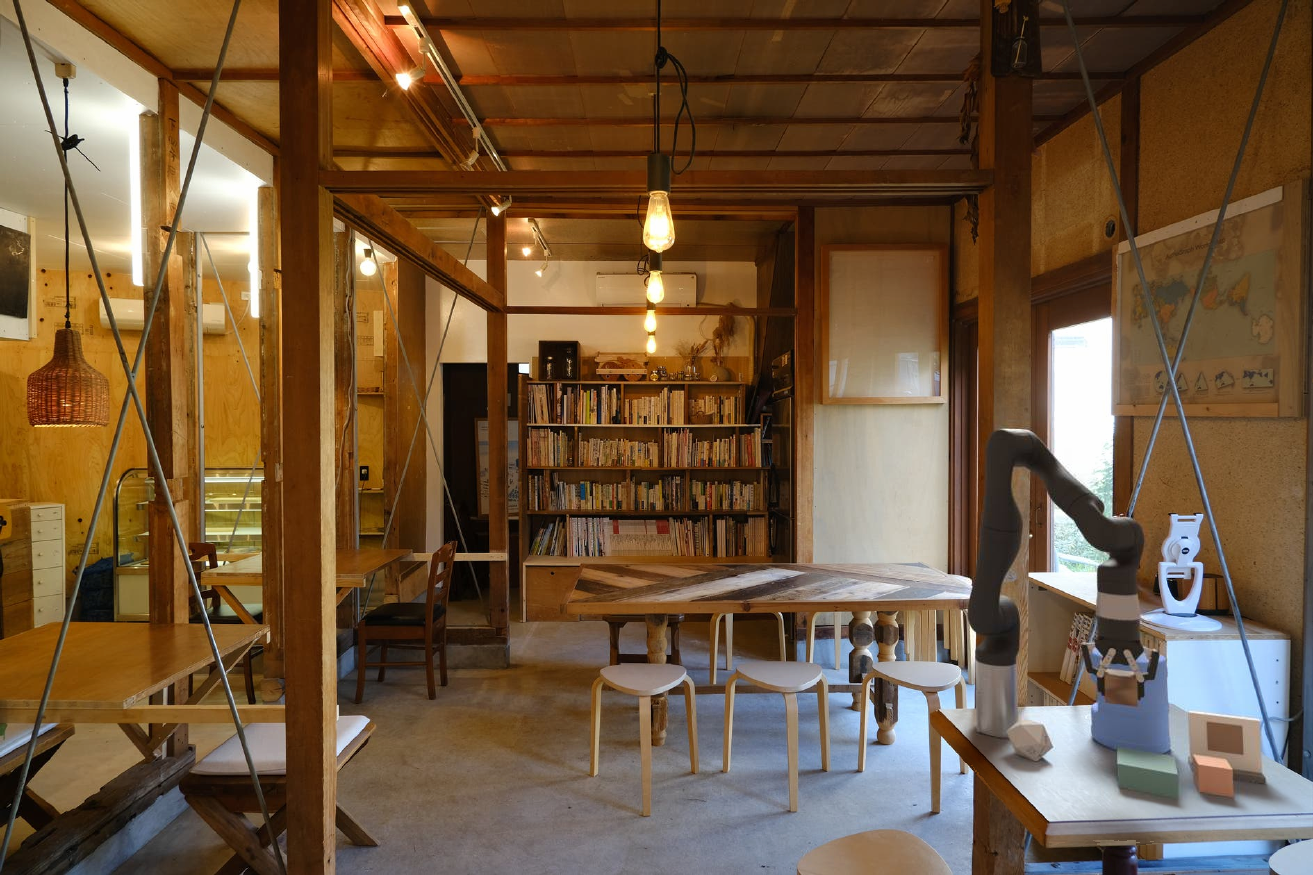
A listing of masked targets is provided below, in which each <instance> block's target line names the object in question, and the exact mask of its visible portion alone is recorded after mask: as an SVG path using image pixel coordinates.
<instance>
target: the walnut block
mask: <svg viewBox="0 0 1313 875" xmlns="http://www.w3.org/2000/svg"><path fill="white" fill-rule="evenodd" d="M1104 681H1105V696H1104V697H1105V702H1106V703H1112V704H1120V705H1127V706H1135V707H1138V691H1137V678H1136V676H1135V674H1134V672H1132V671H1123V670H1114V669H1107V670H1106V672H1105V673H1104Z"/></svg>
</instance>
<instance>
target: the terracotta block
mask: <svg viewBox="0 0 1313 875" xmlns="http://www.w3.org/2000/svg"><path fill="white" fill-rule="evenodd" d="M1192 773H1193V782H1194V785H1195V786H1196V787H1197V790H1198V791H1199V792H1200V793H1204V794H1211V795H1217V796H1224V797H1230V798H1234V796H1235V795H1234V794H1235V793H1234V779H1233V769H1232V768H1231V766H1230V765H1229V763H1228V762H1227V760H1226V759H1222V758H1215V757H1208V756H1201V755H1194V754H1193V770H1192Z"/></svg>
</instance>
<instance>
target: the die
mask: <svg viewBox="0 0 1313 875" xmlns="http://www.w3.org/2000/svg"><path fill="white" fill-rule="evenodd" d="M1006 732H1007V734H1008V737H1009V738H1008V739H1009V741H1010V744H1011V745H1012V748H1013V750H1014V753H1015V754H1016V755H1018V756H1021V757H1024V758H1026V759H1028V760H1031V761H1033V762H1038V761H1039V760H1040V759H1042V757H1044V756H1046V754H1048V752H1050V751H1051V750H1052V749H1053V748H1054V746H1053V744H1052V741H1051V739H1050V736H1049V734H1048V731H1047V730H1046V728H1045V725H1044V724H1042V723H1041V722H1037V721H1034V720H1031V719H1029V718H1025V717H1021V718H1020V719H1018V722H1017V723H1016V724H1014V725H1013V726H1012V727H1011V728H1010V729H1008V730H1007V731H1006Z"/></svg>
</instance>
